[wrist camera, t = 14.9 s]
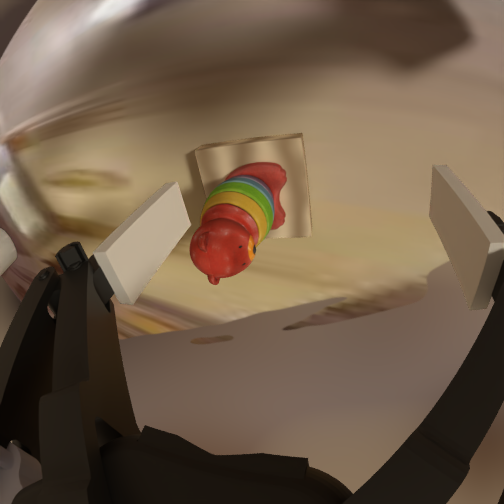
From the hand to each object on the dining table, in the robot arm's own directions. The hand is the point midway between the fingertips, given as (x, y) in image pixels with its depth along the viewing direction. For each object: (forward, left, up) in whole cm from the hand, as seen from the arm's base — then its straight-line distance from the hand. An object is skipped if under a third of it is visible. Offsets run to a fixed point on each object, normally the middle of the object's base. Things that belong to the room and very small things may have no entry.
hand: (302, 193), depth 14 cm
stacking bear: (+10, +11, -28) cm, 32 cm away
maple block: (+10, +11, -32) cm, 35 cm away
